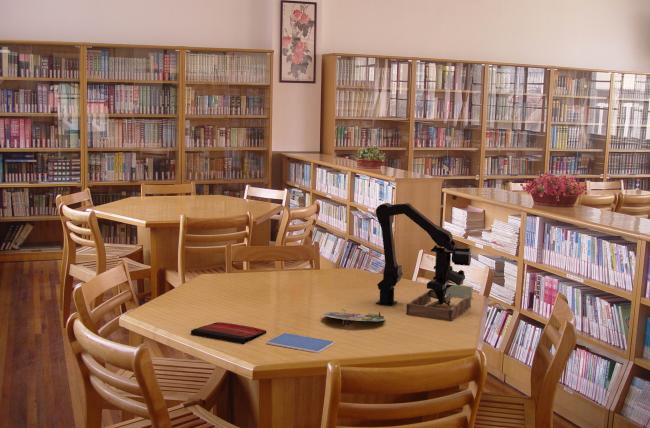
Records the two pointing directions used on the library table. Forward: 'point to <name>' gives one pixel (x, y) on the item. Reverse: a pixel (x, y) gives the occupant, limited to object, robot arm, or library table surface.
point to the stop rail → (459, 291)
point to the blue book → (301, 343)
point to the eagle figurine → (433, 295)
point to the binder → (228, 332)
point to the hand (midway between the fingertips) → (441, 303)
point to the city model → (354, 317)
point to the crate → (434, 312)
